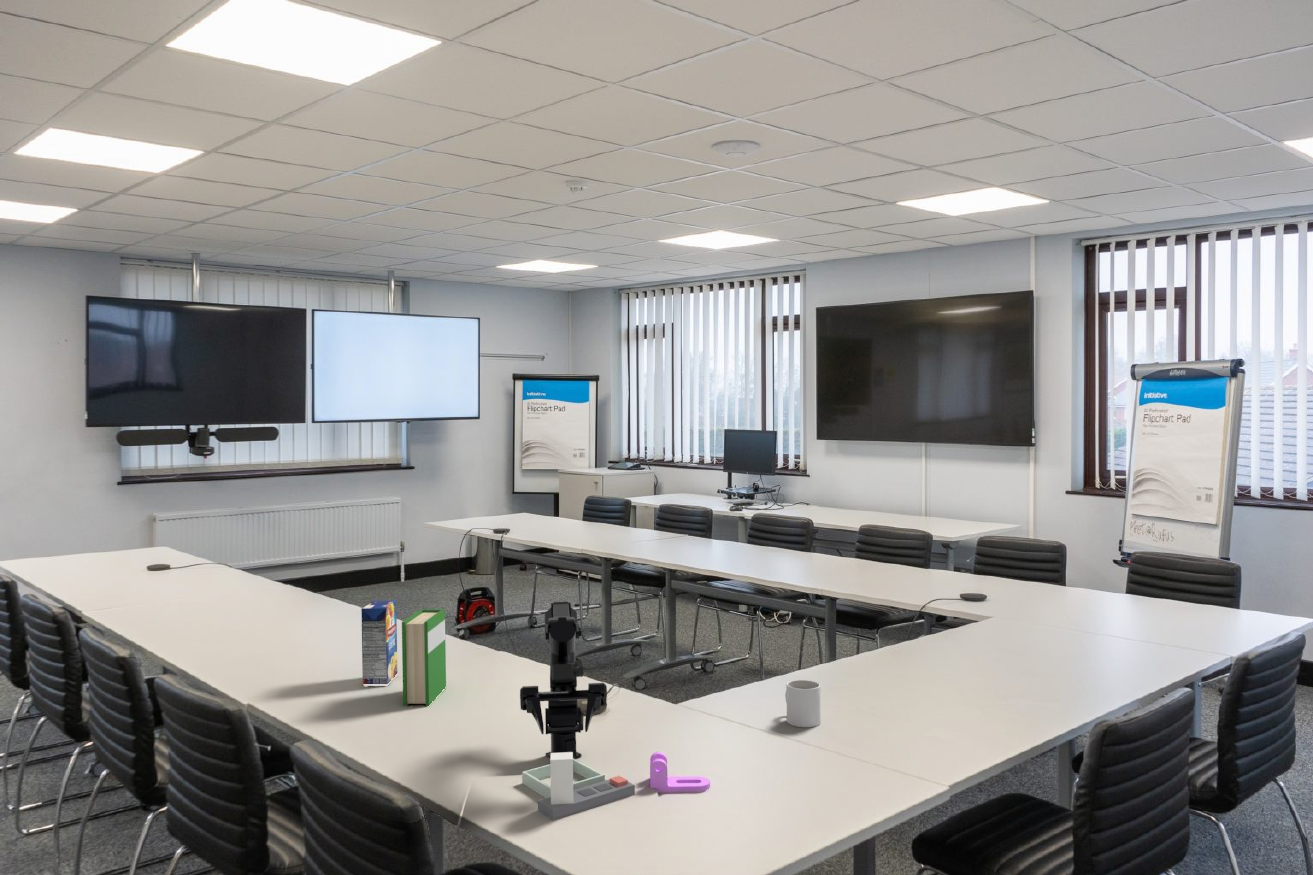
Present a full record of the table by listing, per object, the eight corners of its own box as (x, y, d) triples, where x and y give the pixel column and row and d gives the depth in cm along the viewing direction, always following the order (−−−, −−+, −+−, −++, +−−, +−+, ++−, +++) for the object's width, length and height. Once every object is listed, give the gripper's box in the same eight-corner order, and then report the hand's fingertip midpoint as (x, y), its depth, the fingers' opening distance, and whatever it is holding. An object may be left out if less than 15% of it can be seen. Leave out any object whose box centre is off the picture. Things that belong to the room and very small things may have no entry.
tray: (522, 787, 201) (522, 771, 201) (572, 773, 209) (572, 757, 209) (553, 806, 190) (552, 790, 190) (605, 790, 198) (604, 774, 198)
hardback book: (428, 706, 260) (427, 622, 260) (403, 706, 260) (401, 622, 260) (446, 688, 278) (444, 609, 277) (422, 688, 278) (420, 609, 278)
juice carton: (374, 676, 292) (372, 601, 292) (397, 675, 293) (396, 600, 292) (362, 686, 280) (361, 608, 280) (387, 686, 281) (385, 608, 280)
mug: (820, 728, 237) (819, 689, 237) (783, 726, 239) (782, 688, 239) (821, 715, 248) (820, 678, 248) (785, 713, 250) (785, 676, 250)
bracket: (650, 793, 197) (649, 760, 197) (650, 783, 203) (650, 751, 203) (710, 792, 197) (710, 760, 197) (709, 782, 203) (709, 751, 203)
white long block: (551, 806, 188) (550, 752, 188) (573, 805, 189) (572, 751, 189) (551, 814, 184) (550, 760, 184) (573, 813, 185) (572, 758, 185)
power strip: (553, 825, 182) (552, 805, 182) (537, 815, 187) (537, 796, 187) (634, 798, 194) (634, 781, 194) (618, 790, 199) (618, 772, 199)
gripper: (519, 649, 199) (518, 714, 188) (605, 645, 201) (609, 710, 190) (521, 677, 207) (520, 741, 196) (604, 673, 209) (608, 736, 198)
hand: (564, 731), depth 195 cm, fingers open, 9 cm apart
